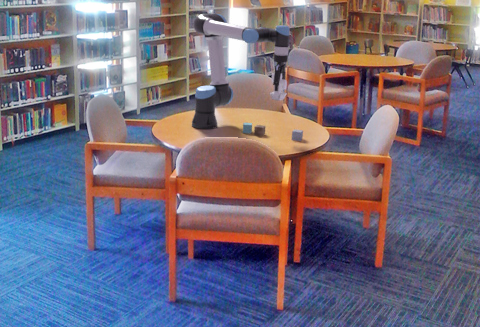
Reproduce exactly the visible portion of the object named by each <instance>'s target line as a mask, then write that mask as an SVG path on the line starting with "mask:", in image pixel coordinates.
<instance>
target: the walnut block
mask: <svg viewBox="0 0 480 327" xmlns="http://www.w3.org/2000/svg"><path fill="white" fill-rule="evenodd" d="M265 134H266V125H261V124H256V125H254V128H253V135H254V136H260V137H263V136H264V135H265Z"/></svg>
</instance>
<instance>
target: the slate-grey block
mask: <svg viewBox="0 0 480 327" xmlns="http://www.w3.org/2000/svg"><path fill="white" fill-rule="evenodd" d="M303 134H304V130H301V129H295V128H294V129H293V130H292V131H291V141H297V142H298V141H299V142H301V141H302V140H303V136H304V135H303Z"/></svg>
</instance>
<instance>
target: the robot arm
mask: <svg viewBox="0 0 480 327" xmlns="http://www.w3.org/2000/svg"><path fill="white" fill-rule="evenodd" d="M192 24H193V29H194V31H195V32H196V33H197V34H199V35H204V39H205V40H206V41H207V47H208V58H209V68H210V70H209V71H210V78H211V81H210V83H209V85H201V86H198V87H197V88H196V89H195V95H194V97H195V98H194V115H193V117H192V121H191V127H192V128H195V129H200V130H201V129H202V130H211V129H212V130H213V129H216V128H218V122H217V121H218V120H217V117H216V113H215V112H216V108H217V107H222V106H226V105H229V104H230V103H231V102H232V101H233V98H234V90H233V88H232V87H231V86H230V84H229V81H227V78H226V69H225V66H226V65H225V58H224V47H223V39H224V38H229V39H232V40H233V39H234V40H237V41H238V40H239V41H242V42H245V43H247V44H257V43H258V44H259V43H274V50H273V53H274V54H273V62H275V63H276V64H275V66H274V73H275V74H274V83H272V85H273V86H274V87H273V92H274V97H279V81H280V76H281V74H282V79H283V80H286V63H287V62H288V60H289V59H288V57H289V56H288V54H289V51H290V49H289V42H290V34H291V33H290V30H291V28H290V27H289V26H288V25H276V26H275V28H270V27H265V26H264V27H263V26H262V27H261V26H260V27H258V28H254V27H247V26H244V25H238V24H233V23H229V22H227V19H226V18H225V17H224V15H222V14H219V13H200V14H198V16H197V15H196V17H195V18H194V20H193V22H192ZM281 92H283V93H284V89H283V84H281Z"/></svg>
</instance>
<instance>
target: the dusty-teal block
mask: <svg viewBox="0 0 480 327" xmlns="http://www.w3.org/2000/svg"><path fill="white" fill-rule="evenodd" d="M252 131H253V123H252V122H243V124H242V133H243V134H252Z"/></svg>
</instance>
